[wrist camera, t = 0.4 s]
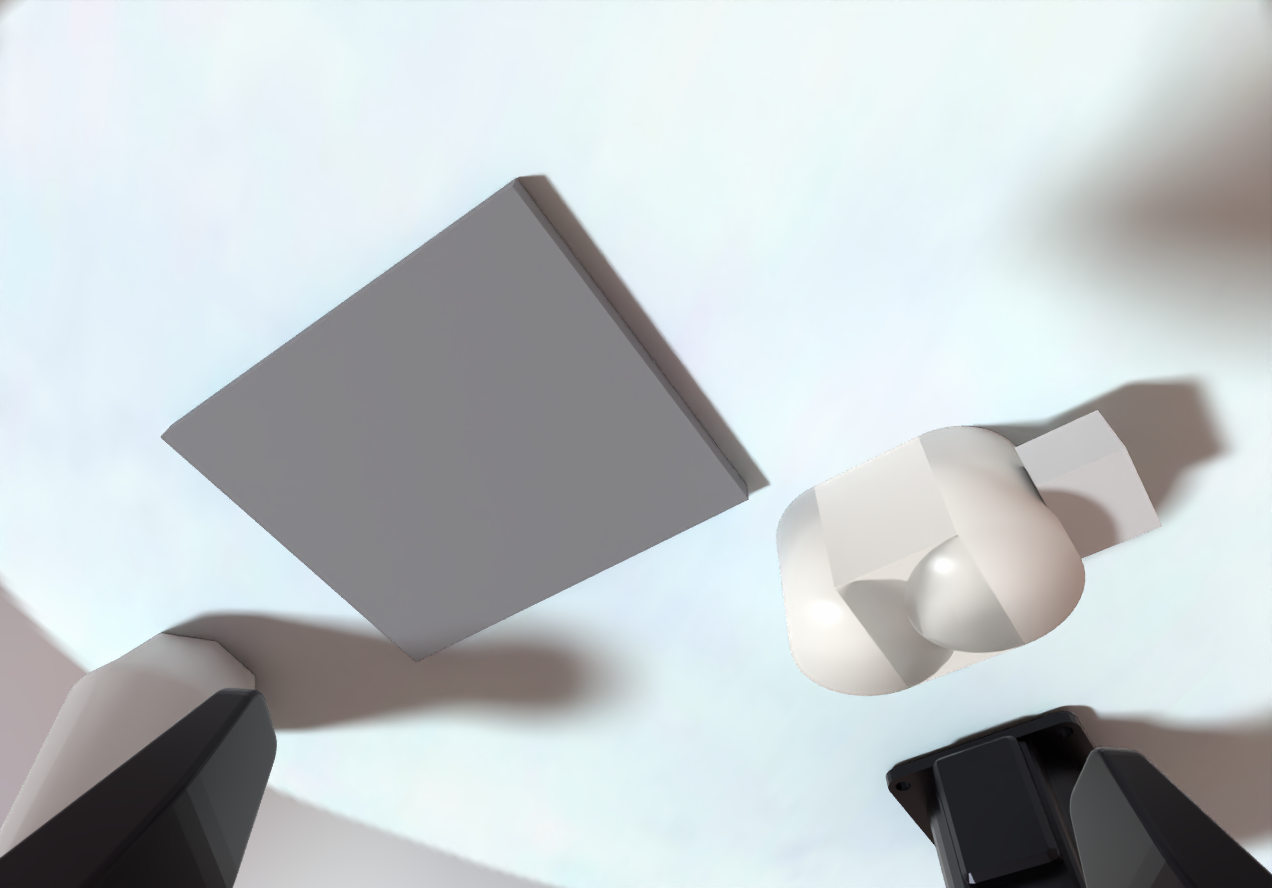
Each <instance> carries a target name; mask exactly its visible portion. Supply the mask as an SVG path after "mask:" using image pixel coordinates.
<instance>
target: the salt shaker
mask: <svg viewBox="0 0 1272 888" xmlns="http://www.w3.org/2000/svg"><path fill="white" fill-rule="evenodd" d="M224 688H243V689H255V675H254V674H252V673H251V672H250V671H249V670H248V669H247V668H246V667H245V666H244V665H242V664H241V663H240V662H239V661H238V660H237V659H236V658H235V657H233V656H232V655H231V654H230V653H229V652H228V651H227V650H226V649H224V648H223V647H222V646H221V645H220V644H219V643H218V642H217V641H210V640H204V639H197V638H190V637H184V636H177V635H170V634H164V633H159V634H157V635H156V636H154V637H152V638H151V639H149V640H148V641H146V642H144V643H143V644H141V645H140V646H138V647H136V648H135V649H133V650H132V651H130V652H128V653H127V654H125V655H123V656H122V657H120V658H119V659H117V660H115V661H112V662H110V663H108V664H106V665H104V666H102V667H100V668H98V669H96V670H94V671H92V672H90V673H88V674H86V675H85V676H83V677H82V678H81V680H79V681H78V682H77V683H76V684H75V685H74V686H73V687H72V689H71V691H70V692H69V694H68V696H67V698H66V700H65V702H64V704H63V706H62V708H61V710H60V712H59V714H58V716H57V718H56V720H55V722H54V724H53V726H52V728H51V731H50V732H49V734H48V736H47V738H46V740H45V742H44V744H43V746H42V748H41V750H40V752H39V754H38V756H37V758H36V760H35V762H34V764H33V766H32V768H31V770H30V772H29V774H28V776H27V778H26V780H25V782H24V784H23V786H22V788H21V790H20V792H19V794H18V796H17V798H16V800H15V802H14V804H13V806H12V808H11V810H10V812H9V814H8V816H7V818H6V820H5V822H4V824H3V826H2V828H1V830H0V857H1V856H3V855H4V854H5V853H7V852H8V851H9V850H11V849H12V848H13V847H14V846H16V845H17V844H18V843H20V842H21V841H22V840H24V839H25V838H26V837H27V836H29V835H30V834H31V833H33V832H34V831H35V830H37V829H38V828H39V827H41V826H42V825H43V824H44V823H46V822H47V821H48V820H50V819H51V818H52V817H54V816H55V815H56V814H57V813H59V812H60V811H61V810H63V809H64V808H65V807H67V806H68V805H69V804H70V803H72V802H73V801H74V800H76V799H77V798H78V797H80V796H81V795H82V794H84V793H85V792H86V791H87V790H89V789H90V788H91V787H93V786H94V785H95V784H97V783H98V782H99V781H100V780H102V779H103V778H104V777H106V776H107V775H108V774H110V773H111V772H112V771H113V770H115V769H116V768H117V767H119V766H120V765H121V764H123V763H124V762H125V761H127V760H128V759H129V758H130V757H132V756H133V755H134V754H136V753H137V752H138V751H140V750H141V749H142V748H143V747H145V746H146V745H147V744H149V743H150V742H151V741H153V740H154V739H155V738H156V737H158V736H159V735H160V734H162V733H163V732H164V731H166V730H167V729H168V728H170V727H171V726H172V725H173V724H175V723H176V722H177V721H179V720H180V719H181V718H183V717H184V716H185V715H186V714H188V713H189V712H190V711H192V710H193V709H194V708H196V707H197V706H198V705H199V704H201V703H202V702H203V701H205V700H206V699H207V698H209V697H210V696H211V695H212V694H214V693H215V692H217V691H219V690H221V689H224Z"/></svg>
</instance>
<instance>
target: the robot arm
mask: <svg viewBox="0 0 1272 888" xmlns="http://www.w3.org/2000/svg"><path fill="white" fill-rule="evenodd" d="M276 748H277V741H276V735H275V732H274V728H273V725H272V722H271V718H270V715H269V712H268V708H267V705H266V702H265V699H264V696H263V695H262V694H261V693H260V692H259V691H258V690H255V689H243V688H224V689H221V690H219V691H217V692H215V693H214V694H212V695H211V696H210V697H209V698H207V699H206V700H205V701H203V702H202V703H201V704H199V705H198V706H197V707H196V708H194V709H193V710H192V711H190V712H189V713H188V714H186V715H185V716H184V717H183V718H181V719H180V720H179V721H177V722H176V723H175V724H173V725H172V726H171V727H170V728H168V729H167V730H166V731H164V732H163V733H162V734H160V735H159V736H158V737H156V738H155V739H154V740H153V741H151V742H150V743H149V744H147V745H146V746H145V747H143V748H142V749H141V750H140V751H138V752H137V753H136V754H134V755H133V756H132V757H130V758H129V759H128V760H127V761H125V762H124V763H123V764H121V765H120V766H119V767H117V768H116V769H115V770H113V771H112V772H111V773H110V774H108V775H107V776H106V777H104V778H103V779H102V780H100V781H99V782H98V783H97V784H95V785H94V786H93V787H91V788H90V789H89V790H87V791H86V792H85V793H84V794H82V795H81V796H80V797H78V798H77V799H76V800H74V801H73V802H72V803H70V804H69V805H68V806H67V807H65V808H64V809H63V810H61V811H60V812H59V813H57V814H56V815H55V816H54V817H52V818H51V819H50V820H48V821H47V822H46V823H44V824H43V825H42V826H41V827H39V828H38V829H37V830H35V831H34V832H33V833H31V834H30V835H29V836H27V837H26V838H25V839H24V840H22V841H21V842H20V843H18V844H17V845H16V846H14V847H13V848H12V849H11V850H9V851H8V852H7V853H5V854H4V855H3V856H1V857H0V888H233V885H234V883H235V880H236V877H237V874H238V871H239V868H240V865H241V862H242V859H243V855H244V853H245V849H246V846H247V843H248V840H249V837H250V834H251V831H252V828H253V825H254V822H255V819H256V816H257V813H258V809H259V806H260V803H261V800H262V797H263V794H264V791H265V788H266V785H267V782H268V779H269V776H270V772H271V769H272V766H273V763H274V760H275V755H276ZM886 780H887V785H888V789H889V791H890V792H891V793H892V794H893V796H894V797H895V798H896V799H897V801H898V802H899V803H900V804H901V805H902V807H903V808H904V809H905V810H906V811H907V813H908V814H909V815H910V816H911V817H912V819H913V820H914V821H915V822H916V823H917V825H918V826H919V827H920V828H921V830H922V831H923V832H924V833H925V834H926V836H927V837H928V838H929V839H930V840H931V842H932V843H933V844H934V845H935V846H936V850H937V854H938V858H939V862H940V866H941V870H942V874H943V878H944V881H945V885H946V888H1272V874H1271V873H1270V872H1269V871H1268V870H1267V869H1266V868H1265V867H1264V866H1263V865H1262V864H1260V863H1259V862H1258V861H1257V860H1256V859H1255V858H1254V857H1253V856H1252V855H1251V854H1250V853H1249V852H1247V851H1246V850H1245V849H1244V848H1243V847H1242V846H1241V845H1240V844H1239V843H1238V842H1237V841H1236V840H1234V839H1233V838H1232V837H1231V836H1230V835H1229V834H1228V833H1227V832H1226V831H1225V830H1224V829H1223V828H1222V827H1220V826H1219V825H1218V824H1217V823H1216V822H1215V821H1214V820H1213V819H1212V818H1211V817H1210V816H1209V815H1207V814H1206V813H1205V812H1204V811H1203V810H1202V809H1201V808H1200V807H1199V806H1198V805H1197V804H1196V803H1194V802H1193V801H1192V800H1191V799H1190V798H1189V797H1188V796H1187V795H1186V794H1185V793H1184V792H1183V791H1181V790H1180V789H1179V788H1178V787H1177V786H1176V785H1175V784H1174V783H1173V782H1172V781H1171V780H1170V779H1169V778H1167V777H1166V776H1165V775H1164V774H1163V773H1162V772H1161V771H1160V770H1159V769H1158V768H1157V767H1156V766H1154V765H1153V764H1152V763H1151V762H1150V761H1149V760H1148V759H1147V758H1146V757H1145V756H1143V755H1142V754H1141V753H1139V752H1137V751H1135V750H1133V749H1127V748H1113V747H1097V748H1095V747H1094V745H1093V743H1092V742H1091V740H1090V738H1089V737H1088V735H1087V733H1086V732H1085V730H1084V729H1083V727H1082V725H1081V724H1080V722H1079V720H1078V719H1077V717H1076V716H1075V715H1074V714H1073V713H1070V712H1057V713H1054V714H1051V715H1048V716H1045V717H1042V718H1039V719H1036V720H1033V721H1030V722H1027V723H1024V724H1021V725H1018V726H1016V727H1013V728H1010V729H1007V730H1004V731H1001V732H998V733H995V734H992V735H989V736H986V737H983V738H981V739H978V740H975V741H972V742H969V743H966V744H963V745H960V746H957V747H954V748H951V749H948V750H946V751H943V752H940V753H937V754H934V755H931V756H928V757H925V758H922V759H919V760H916V761H913V762H911V763H908V764H905V765H902V766H899V767H896V768H893V769H891V770H890V771H889V772H888V773H887V774H886Z"/></svg>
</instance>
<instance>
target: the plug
mask: <svg viewBox="0 0 1272 888" xmlns="http://www.w3.org/2000/svg"><path fill="white" fill-rule="evenodd" d="M1161 526H1162V525H1161V523H1160V521H1159V518H1158V516H1157V514H1156V512H1155V510H1154V508H1153V505H1152V503H1151V501H1150V499H1149V497H1148V494H1147V492H1146V490H1145V488H1144V486H1143V484H1142V481H1141V479H1140V477H1139V475H1138V473H1137V470H1136V468H1135V466H1134V464H1133V462H1132V460H1131V457H1130V455H1129V453H1128V451H1127V449H1126V447H1125V446H1124V444H1123V443H1122V442H1121V440H1120V439H1119V438H1118V436H1117V435H1116V434H1115V432H1114V431H1113V430H1112V428H1111V427H1110V426H1109V424H1108V423H1107V422H1106V420H1105V419H1104V418H1103V416H1102V415H1101V414H1100V412H1099V411H1098V410H1096V411H1094V412H1091V413H1089V414H1087V415H1085V416H1083V417H1080V418H1078V419H1076V420H1074V421H1072V422H1069V423H1067V424H1065V425H1063V426H1061V427H1059V428H1056V429H1054V430H1052V431H1050V432H1048V433H1045V434H1043V435H1041V436H1039V437H1037V438H1035V439H1032V440H1030V441H1028V442H1026V443H1024V444H1021V445H1019V446H1017V447H1016V446H1015V445H1014V444H1013V443H1012V442H1011V441H1009V440H1008V439H1007V438H1005V437H1004V436H1002V435H1000V434H998V433H996V432H993V431H991V430H988V429H984V428H980V427H972V426H954V427H946V428H941V429H937V430H933V431H930V432H927V433H925V434H922V435H920V436H918V437H916V438H913V439H911V440H909V441H907V442H905V443H903V444H901V445H899V446H897V447H895V448H893V449H891V450H889V451H886V452H884V453H882V454H880V455H878V456H876V457H874V458H872V459H870V460H868V461H866V462H864V463H862V464H859V465H857V466H855V467H853V468H851V469H849V470H847V471H845V472H843V473H841V474H839V475H837V476H835V477H833V478H830V479H828V480H826V481H824V482H822V483H820V484H818V485H816V486H814V487H812V488H810V489H808V490H807V491H805V492H804V493H802V494H801V495H799V496H798V497H797V498H796V499H795V500H794V501H793V502H792V503H791V504H790V505H789V506H788V507H787V508H786V510H785V511H784V513H783V515H782V517H781V519H780V521H779V524H778V527H777V533H776V542H777V551H778V558H779V566H780V574H781V582H782V590H783V597H784V605H785V613H786V621H787V629H788V637H789V644H790V651H791V654H792V657H793V660H794V662H795V664H796V665H797V667H798V668H799V669H800V671H801V672H802V673H803V674H804V675H805V676H807V677H808V678H809V679H810V680H812V681H813V682H815V683H817V684H818V685H820V686H822V687H824V688H827V689H829V690H832V691H835V692H839V693H844V694H849V695H858V696H873V695H883V694H890V693H894V692H898V691H902V690H905V689H908V688H911V687H913V686H916V685H919V684H921V683H924V682H927V681H929V680H932V679H935V678H937V677H940V676H943V675H945V674H948V673H951V672H953V671H956V670H959V669H961V668H964V667H967V666H969V665H972V664H975V663H977V662H980V661H983V660H985V659H988V658H991V657H993V656H996V655H999V654H1001V653H1004V652H1007V651H1009V650H1012V649H1015V648H1017V647H1020V646H1023V645H1025V644H1028V643H1030V642H1032V641H1035V640H1037V639H1039V638H1040V637H1042V636H1044V635H1046V634H1047V633H1049V632H1050V631H1052V630H1053V629H1055V628H1056V627H1057V626H1058V625H1060V624H1061V623H1062V622H1063V621H1064V620H1065V619H1066V618H1067V617H1068V616H1069V615H1070V614H1071V612H1072V611H1073V610H1074V608H1075V607H1076V605H1077V604H1078V602H1079V600H1080V598H1081V595H1082V593H1083V590H1084V584H1085V570H1084V565H1083V563H1082V560H1081V558H1084V557H1086V556H1089V555H1091V554H1094V553H1096V552H1099V551H1101V550H1104V549H1106V548H1109V547H1111V546H1114V545H1116V544H1119V543H1121V542H1124V541H1126V540H1129V539H1131V538H1134V537H1136V536H1139V535H1141V534H1144V533H1146V532H1149V531H1151V530H1154V529H1156V528H1158V527H1161Z"/></svg>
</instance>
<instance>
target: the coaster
mask: <svg viewBox="0 0 1272 888" xmlns="http://www.w3.org/2000/svg"><path fill="white" fill-rule="evenodd" d="M161 438H162V439H163V440H164V441H165V442H166V443H167V444H169V445H170V446H171V447H172V448H173V449H174V450H175V451H177V452H178V453H179V454H180V455H181V456H182V457H183V458H185V459H186V460H187V461H188V462H189V463H190V464H191V465H192V466H194V467H195V468H196V469H197V470H198V471H199V472H200V473H202V474H203V475H204V476H205V477H206V478H207V479H208V480H209V481H211V482H212V483H213V484H214V485H215V486H216V487H217V488H219V489H220V490H221V491H222V492H223V493H224V494H225V495H227V496H228V497H229V498H230V499H231V500H232V501H233V502H234V503H236V504H237V505H238V506H239V507H240V508H241V509H242V510H244V511H245V512H246V513H247V514H248V515H249V516H250V517H251V518H253V519H254V520H255V521H256V522H257V523H258V524H259V525H261V526H262V527H263V528H264V529H265V530H266V531H267V532H269V533H270V534H271V535H272V536H273V537H274V538H275V539H276V540H278V541H279V542H280V543H281V544H282V545H283V546H284V547H286V548H287V549H288V550H289V551H290V552H291V553H292V554H293V555H295V556H296V557H297V558H298V559H299V560H300V561H301V562H303V563H304V564H305V565H306V566H307V567H308V568H309V569H311V570H312V571H313V572H314V573H315V574H316V575H317V576H318V577H320V578H321V579H322V580H323V581H324V582H325V583H326V584H328V585H329V586H330V587H331V588H332V589H333V590H334V591H335V592H337V593H338V594H339V595H340V596H341V597H342V598H343V599H345V600H346V601H347V602H348V603H349V604H350V605H351V606H353V607H354V608H355V609H356V610H357V611H358V612H359V613H360V614H362V615H363V616H364V617H365V618H366V619H367V620H368V621H370V622H371V623H372V624H373V625H374V626H375V627H376V628H377V629H379V630H380V631H381V632H382V633H383V634H384V635H385V636H387V637H388V638H389V639H390V640H391V641H392V642H393V643H395V644H396V645H397V646H398V647H399V648H400V649H401V650H402V651H404V652H405V653H406V654H407V655H408V656H409V657H410V658H412V659H413V660H414V661H415V662H418V661H420V660H422V659H424V658H426V657H428V656H430V655H432V654H435V653H437V652H439V651H441V650H443V649H445V648H447V647H449V646H451V645H453V644H455V643H457V642H459V641H461V640H463V639H465V638H467V637H469V636H471V635H473V634H475V633H477V632H479V631H481V630H483V629H485V628H488V627H490V626H492V625H494V624H496V623H498V622H500V621H502V620H504V619H506V618H508V617H510V616H512V615H514V614H516V613H518V612H520V611H522V610H524V609H526V608H528V607H530V606H532V605H534V604H536V603H539V602H541V601H543V600H545V599H547V598H549V597H551V596H553V595H555V594H557V593H559V592H561V591H563V590H565V589H567V588H569V587H571V586H573V585H575V584H577V583H579V582H581V581H583V580H585V579H587V578H589V577H592V576H594V575H596V574H598V573H600V572H602V571H604V570H606V569H608V568H610V567H612V566H614V565H616V564H618V563H620V562H622V561H624V560H626V559H628V558H630V557H632V556H634V555H636V554H638V553H640V552H643V551H645V550H647V549H649V548H651V547H653V546H655V545H657V544H659V543H661V542H663V541H665V540H667V539H669V538H671V537H673V536H675V535H677V534H679V533H681V532H683V531H685V530H687V529H689V528H691V527H693V526H696V525H698V524H700V523H702V522H704V521H706V520H708V519H710V518H712V517H714V516H716V515H718V514H720V513H722V512H724V511H726V510H728V509H730V508H732V507H734V506H736V505H738V504H740V503H742V502H744V501H747V500H748V489H747V485H746V484H745V482H744V481H743V480H742V478H741V477H740V476H739V474H738V473H737V472H736V470H735V469H734V468H733V466H732V465H731V464H730V462H729V461H728V460H727V458H726V457H725V456H724V454H723V453H722V452H721V450H720V449H719V448H718V446H717V445H716V444H715V442H714V441H713V440H712V438H711V437H710V436H709V434H708V433H707V432H706V430H705V429H704V428H703V426H702V425H701V424H700V422H699V421H698V420H697V418H696V417H695V416H694V414H693V413H692V412H691V410H690V409H689V408H688V406H687V405H686V404H685V402H684V401H683V400H682V398H681V397H680V396H679V394H678V393H677V391H676V390H675V389H674V387H673V386H672V385H671V383H670V382H669V381H668V379H667V378H666V377H665V375H664V374H663V373H662V371H661V370H660V369H659V367H658V366H657V365H656V363H655V362H654V361H653V359H652V358H651V357H650V355H649V354H648V353H647V351H646V350H645V349H644V347H643V346H642V345H641V343H640V342H639V341H638V339H637V338H636V337H635V335H634V334H633V333H632V331H631V330H630V329H629V327H628V326H627V325H626V323H625V322H624V321H623V319H622V318H621V317H620V315H619V314H618V313H617V311H616V310H615V309H614V307H613V306H612V305H611V303H610V302H609V301H608V299H607V298H606V297H605V295H604V294H603V292H602V291H601V290H600V288H599V287H598V286H597V284H596V283H595V282H594V280H593V279H592V278H591V276H590V275H589V274H588V272H587V271H586V270H585V268H584V267H583V266H582V264H581V263H580V262H579V260H578V259H577V258H576V256H575V255H574V254H573V252H572V251H571V250H570V248H569V247H568V246H567V244H566V243H565V242H564V240H563V239H562V238H561V236H560V235H559V234H558V232H557V231H556V230H555V228H554V227H553V226H552V224H551V223H550V222H549V220H548V219H547V218H546V216H545V215H544V214H543V212H542V211H541V210H540V208H539V207H538V206H537V204H536V203H535V202H534V200H533V199H532V198H531V196H530V195H529V194H528V192H527V191H526V189H525V188H524V187H523V185H522V184H521V183H520V181H519V180H518V179H517V178H515V179H514V180H513V181H511V182H510V183H509V184H507V185H506V186H504V187H503V188H502V189H500V190H499V191H497V192H496V193H495V194H493V195H492V196H490V197H489V198H488V199H486V200H485V201H483V202H482V203H481V204H479V205H478V206H476V207H475V208H474V209H472V210H471V211H469V212H468V213H467V214H465V215H464V216H462V217H461V218H460V219H458V220H457V221H455V222H454V223H453V224H451V225H450V226H449V227H447V228H446V229H444V230H443V231H442V232H440V233H439V234H437V235H436V236H435V237H433V238H432V239H430V240H429V241H428V242H426V243H425V244H423V245H422V246H421V247H419V248H418V249H416V250H415V251H414V252H412V253H411V254H409V255H408V256H407V257H405V258H404V259H402V260H401V261H400V262H398V263H397V264H395V265H394V266H393V267H391V268H390V269H389V270H387V271H386V272H384V273H383V274H382V275H380V276H379V277H377V278H376V279H375V280H373V281H372V282H370V283H369V284H368V285H366V286H365V287H363V288H362V289H361V290H359V291H358V292H356V293H355V294H354V295H352V296H351V297H349V298H348V299H347V300H345V301H344V302H342V303H341V304H340V305H338V306H337V307H336V308H334V309H333V310H331V311H330V312H329V313H327V314H326V315H324V316H323V317H322V318H320V319H319V320H317V321H316V322H315V323H313V324H312V325H310V326H309V327H308V328H306V329H305V330H303V331H302V332H301V333H299V334H298V335H296V336H295V337H294V338H292V339H291V340H289V341H288V342H287V343H285V344H284V345H282V346H281V347H280V348H278V349H277V350H276V351H274V352H273V353H271V354H270V355H269V356H267V357H266V358H264V359H263V360H262V361H260V362H259V363H257V364H256V365H255V366H253V367H252V368H250V369H249V370H248V371H246V372H245V373H243V374H242V375H241V376H239V377H238V378H236V379H235V380H234V381H232V382H231V383H229V384H228V385H227V386H225V387H224V388H222V389H221V390H220V391H218V392H217V393H216V394H214V395H213V396H211V397H210V398H209V399H207V400H206V401H204V402H203V403H202V404H200V405H199V406H197V407H196V408H195V409H193V410H192V411H190V412H189V413H188V414H186V415H185V416H183V417H182V418H181V419H179V420H178V421H176V422H175V423H174V424H172V425H171V426H170V427H169V428H168V429H167V430H166V431H165V433H164V434H163V435H162V436H161Z"/></svg>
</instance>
